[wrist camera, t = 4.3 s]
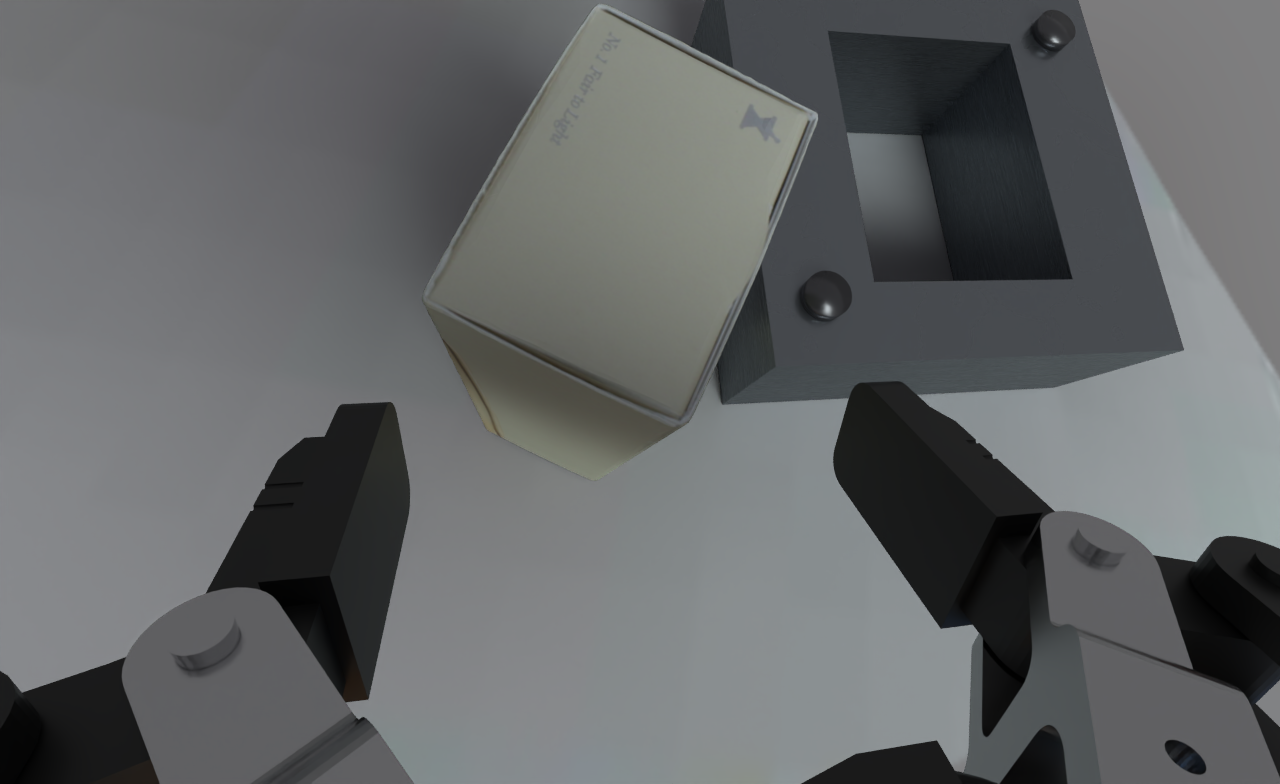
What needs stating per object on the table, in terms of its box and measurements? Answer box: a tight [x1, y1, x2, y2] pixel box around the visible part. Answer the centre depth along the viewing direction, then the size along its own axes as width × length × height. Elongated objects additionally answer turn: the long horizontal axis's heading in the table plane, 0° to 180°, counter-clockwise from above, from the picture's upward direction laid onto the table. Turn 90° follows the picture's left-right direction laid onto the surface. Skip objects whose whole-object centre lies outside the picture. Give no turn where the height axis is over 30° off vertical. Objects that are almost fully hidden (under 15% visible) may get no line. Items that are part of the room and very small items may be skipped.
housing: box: [691, 0, 1184, 405], centre depth 22 cm, size 14×14×5 cm
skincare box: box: [422, 4, 818, 481], centre depth 15 cm, size 6×4×12 cm
